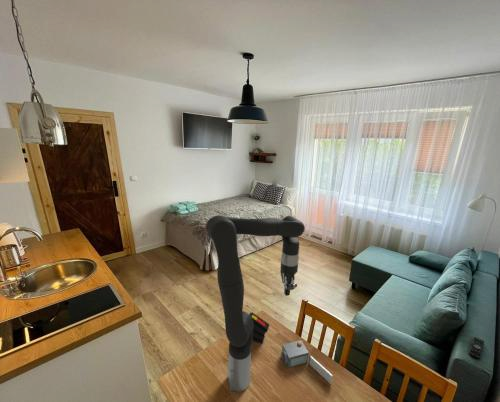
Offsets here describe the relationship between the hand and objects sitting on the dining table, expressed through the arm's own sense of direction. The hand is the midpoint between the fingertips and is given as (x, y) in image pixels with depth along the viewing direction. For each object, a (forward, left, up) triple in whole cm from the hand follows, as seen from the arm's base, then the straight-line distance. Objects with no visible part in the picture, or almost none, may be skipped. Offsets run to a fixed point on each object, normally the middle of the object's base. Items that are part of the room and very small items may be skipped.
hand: (286, 294), depth 103 cm
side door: (+12, -15, -33) cm, 38 cm away
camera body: (+4, -5, -33) cm, 34 cm away
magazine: (-11, +10, -33) cm, 36 cm away
